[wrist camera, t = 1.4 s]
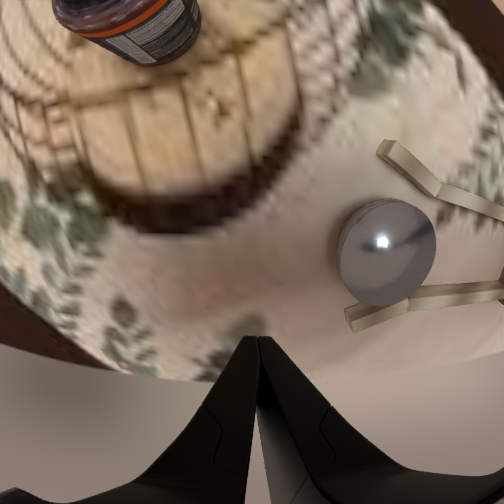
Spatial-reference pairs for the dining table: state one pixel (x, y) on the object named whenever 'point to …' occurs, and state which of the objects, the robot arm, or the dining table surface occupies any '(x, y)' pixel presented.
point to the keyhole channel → (437, 294)
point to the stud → (385, 251)
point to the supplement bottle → (133, 26)
